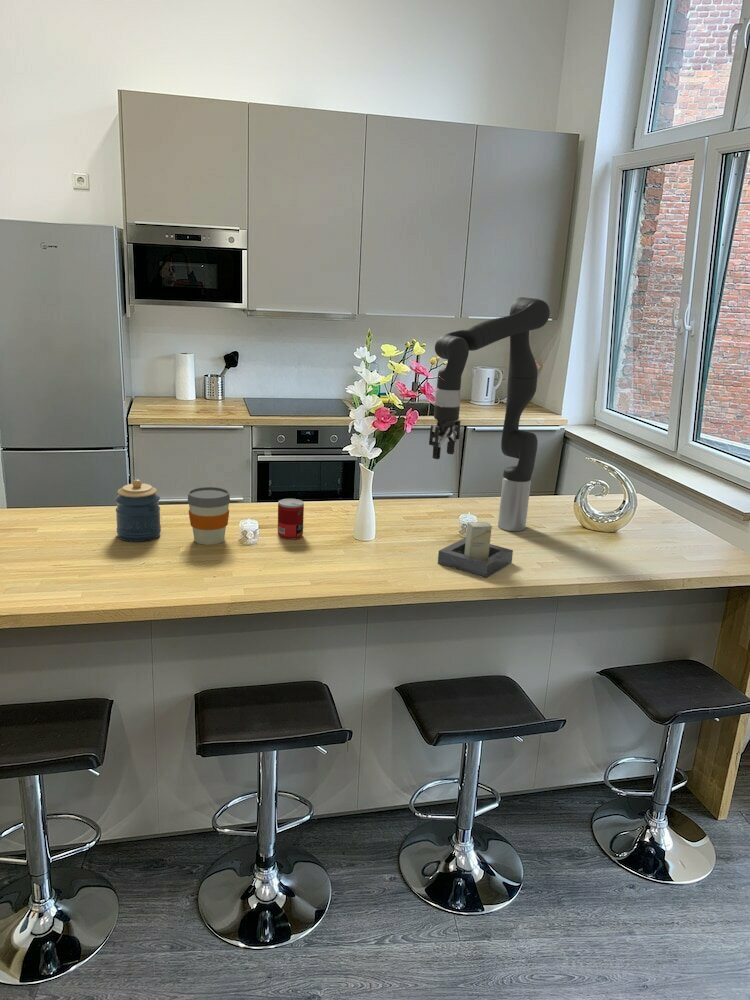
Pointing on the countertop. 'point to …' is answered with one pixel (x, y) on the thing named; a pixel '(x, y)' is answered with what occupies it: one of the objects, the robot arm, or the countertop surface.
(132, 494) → the canister
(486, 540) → the skincare box
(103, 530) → the countertop surface
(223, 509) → the reusable coffee cup
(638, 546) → the countertop surface
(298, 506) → the canned food
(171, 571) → the countertop surface
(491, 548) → the dark grey square frame
